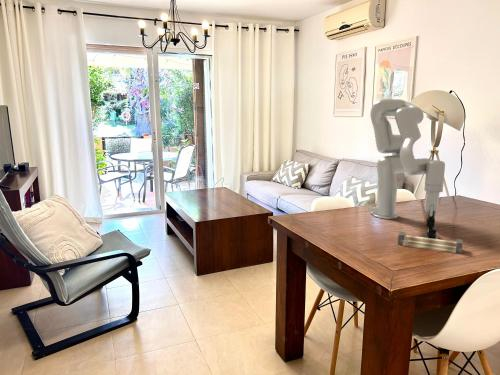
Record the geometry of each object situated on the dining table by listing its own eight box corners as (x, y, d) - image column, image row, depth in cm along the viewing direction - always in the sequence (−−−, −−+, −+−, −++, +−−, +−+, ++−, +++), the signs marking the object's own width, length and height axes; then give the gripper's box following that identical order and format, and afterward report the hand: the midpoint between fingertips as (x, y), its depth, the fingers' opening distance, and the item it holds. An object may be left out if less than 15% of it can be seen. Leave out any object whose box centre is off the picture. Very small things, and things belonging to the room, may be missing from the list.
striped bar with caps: (397, 244, 154) (398, 235, 153) (399, 240, 159) (399, 231, 158) (461, 254, 143) (462, 244, 142) (461, 249, 148) (462, 239, 147)
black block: (442, 244, 156) (443, 233, 155) (423, 242, 158) (424, 231, 158) (437, 234, 168) (438, 224, 167) (419, 233, 170) (420, 223, 169)
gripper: (425, 184, 178) (422, 221, 182) (423, 190, 165) (420, 229, 169) (443, 185, 175) (439, 223, 178) (442, 191, 162) (438, 232, 165)
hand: (430, 226), depth 174 cm, fingers closed
